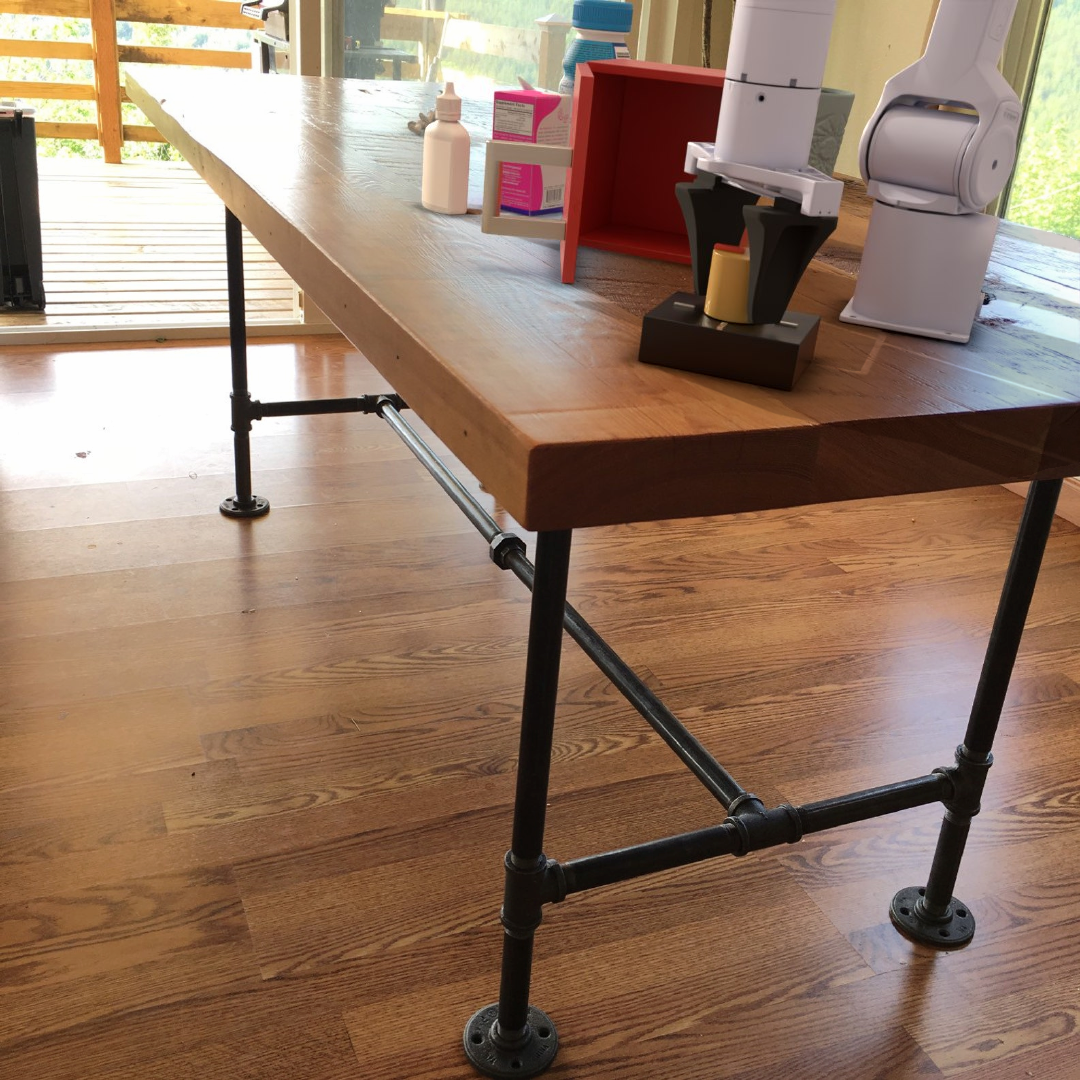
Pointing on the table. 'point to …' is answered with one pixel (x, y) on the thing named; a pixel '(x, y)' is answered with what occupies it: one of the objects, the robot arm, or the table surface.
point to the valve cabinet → (645, 154)
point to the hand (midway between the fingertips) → (735, 308)
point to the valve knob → (728, 284)
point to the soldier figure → (423, 121)
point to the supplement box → (532, 123)
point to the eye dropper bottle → (446, 158)
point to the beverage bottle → (595, 37)
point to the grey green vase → (829, 128)
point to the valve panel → (728, 343)
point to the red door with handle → (547, 156)
